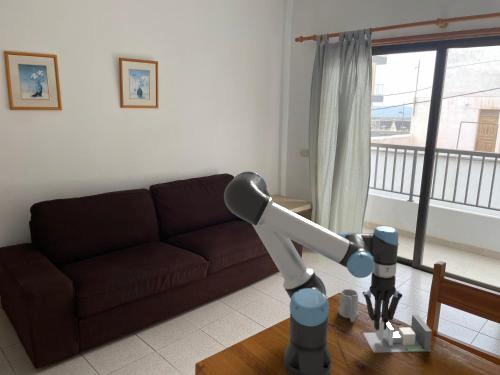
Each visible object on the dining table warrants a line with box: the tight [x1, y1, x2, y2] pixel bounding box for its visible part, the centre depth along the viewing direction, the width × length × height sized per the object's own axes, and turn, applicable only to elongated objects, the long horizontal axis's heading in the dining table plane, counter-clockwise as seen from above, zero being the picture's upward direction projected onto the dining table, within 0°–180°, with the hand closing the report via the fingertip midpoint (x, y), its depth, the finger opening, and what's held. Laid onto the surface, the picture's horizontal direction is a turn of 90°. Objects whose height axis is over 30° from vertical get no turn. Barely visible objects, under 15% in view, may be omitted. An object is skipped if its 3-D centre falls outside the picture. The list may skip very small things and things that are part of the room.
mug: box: [337, 288, 360, 323], centre depth 147 cm, size 8×12×12 cm, turn 179°
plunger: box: [383, 321, 403, 346], centre depth 131 cm, size 5×6×6 cm
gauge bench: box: [362, 314, 433, 353], centre depth 131 cm, size 19×11×8 cm, turn 92°
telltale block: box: [398, 326, 416, 345], centre depth 131 cm, size 4×4×4 cm
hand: (379, 337), depth 131 cm, fingers closed
